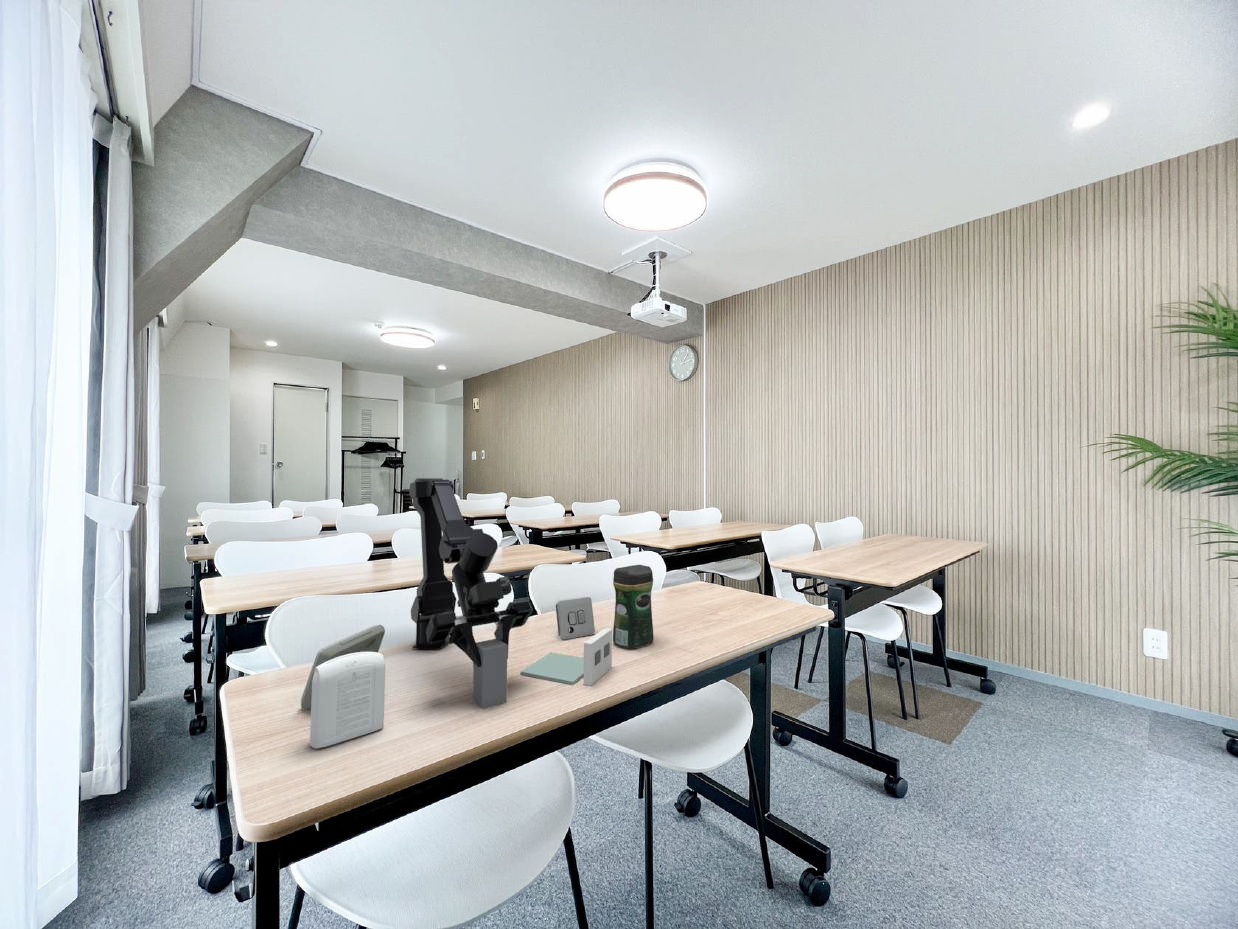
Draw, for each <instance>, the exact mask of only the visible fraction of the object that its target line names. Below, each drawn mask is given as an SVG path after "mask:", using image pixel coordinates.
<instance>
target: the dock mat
mask: <svg viewBox="0 0 1238 929" xmlns="http://www.w3.org/2000/svg"><path fill="white" fill-rule="evenodd" d="M519 674H520V675H521V676H524V677H531V678H534V679H540V680H541V679H542V680H547V681H551V682H556V683H561V684H567V685H572V686H574V685H575V684H576V683H578V682H579V681H580V680H581V679H582V678H584V657H581V656H577V655H576V656H574V655H571V654H570V655H569V654H565V653H564V654H563V653H557V652H552V651H551V652H548V653H547V654H546V655H544V656H543V657H541V658H539V659H538V660H536V661H535V662H533V663H532V664H530V665H529V666H526V668H525V667H524V669H522V670H521V671H520V673H519Z"/></svg>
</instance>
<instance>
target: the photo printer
mask: <svg viewBox="0 0 1238 929" xmlns="http://www.w3.org/2000/svg"><path fill="white" fill-rule="evenodd" d="M385 687H386V661H385V655H383V654H382V653H381V652H379V651H378V652H357V653H351V654H346V655H343V656H339V657H336V658H334V659H331V660H329V661H327V662H325V663H323V664H321V665H319V666H317V667H316V668H315V670H314V676H313V680H312V702H311V709H310V728H309V729H310V731H309V732H310V733H309V734H310V735H309V736H310V737H309V746H310V747H312V748H313V749H316V750H317V749H321V748H326V747H329V746H333V745H335V744H339V743H343V742H345V741H349V740H352V739H354V738H357V737H361V736H364V735H367V734H371V733H373V732H377V731H378V730H382V728H384V725H385V724H384V722H385V721H384V719H385V690H386V688H385Z"/></svg>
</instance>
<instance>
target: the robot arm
mask: <svg viewBox="0 0 1238 929" xmlns="http://www.w3.org/2000/svg"><path fill="white" fill-rule="evenodd" d="M409 497H410V498H411V500H412V506H413V508H414V509H415V510H416V512H417V513H418V515H419V516H420V531H421V532H420V534H421V535H420V536H421V556H422V572H423V574H422V575H423V576H422V579H421V581H420V582H419V584H418V586H417V588H416V596H415V597H414V600H413V603H412V606H411V609H410V617H411V621H412V622H413V623H415V624H416V625H415V626H416V628H415V629H416V631H415V633H416V634H415V635H416V636H415V637H416V638H415V644H414V645H413V646H412V649H413V648H423V649H422V650H438V651H439V650H441V649H442V648H444V647H445V646H446V645H447V644H450V645H452V644H454V645H455V646H456V647H457V648H458V649H460V650H461V651H462V652H463V653H464V654H465V655H466V656H467V657H468V658H469V659H470V661H471V662H472V663H473V662H474V663H475V665H476V666H477V667H480V666H481V658H480V654H479V651H478V648H477V645H476V640H475V637H474V632H473V630H474V629H473V627H478V626H483V625H490V624H493V623H494V624H495V627H496V629H495V630H494V633H493V634H494V639H497V638H498V639H499V640H500V641H502V642H503V643H505V644H506V645H507V660H508V658H509V640H510V631H511V629H514V628H520V627H523V626H524V625H525V624H526V622H528V620H529V618H530V616H531V615H532V613H533V611H534V610H533V607H532V603H531V602H530V601H529V600H526V599H522V600H516V601H510V602H508V604H507V607H506V608H505V609H504V610H499V611H497V610H495V608H498V607H499V605H500V603H499V600H502V599H504V596H507V595H509V594H511V593H512V591H513V590H512V583H511V581H510V578H509V576H502V577H501V576H500V577H498V578H497V579H496V580H495V581H494V580H493V581H486V577H485V574H484V573H485V572H486V571H487V570H488V569H489V568H490V565H491V563H492V561H493V559H494V556H495V555H496V553H497V551H498V546H499V545H498V541H497V540H496V539H495V537H493V536H491V535H490V534H488V533H486V532H484V531H483V530H484V529H483V528H473V527H472V526H470V525H469V524H467V523H466V522H465V520H464V518H463V515H462V512H461V510H460V507H459V505H458V501H457V498H456V495H455V492H454V483H453V481H452V480H449V479H443V478H429V477H427V478H426V477H425V478H424V477H423V478H422V477H421V478H419V477H418V478H415V480H414V481H413V482H410V484H409ZM444 563H445V564H449V565H450V564H455V565H454V566H453V568H452V570H451V580H449V578H448V577H447V575H446V574H445V564H444ZM454 587H455V590H456V594H457V597H456V594H455V592H454ZM457 598H458V599H457ZM456 604H457V607H458V608H459V607H460V610H461V614H462V615H456V612H455V610H456Z"/></svg>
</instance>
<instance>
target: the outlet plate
mask: <svg viewBox="0 0 1238 929" xmlns="http://www.w3.org/2000/svg"><path fill="white" fill-rule="evenodd" d="M612 656H613V628H607V627H606V628H603V629H602V630H600V631H599V632H597V633H596V634H594V635H593V636H592V637H590V638H588V640H585V641H584V643H583V658H584V676H583V685H584V686H590V687H591V686H592V685H594V684H595V683H596V682H598V680H599V679H601V677H603V676H604V675H605V674H606V673H608V671H610V669H611V668H613V666H612V664H613V663H612V662H613V657H612Z"/></svg>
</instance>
